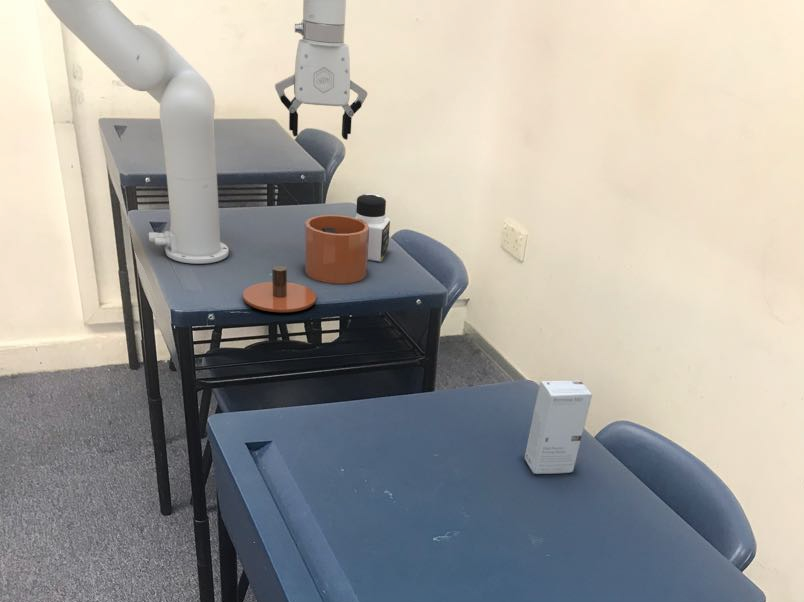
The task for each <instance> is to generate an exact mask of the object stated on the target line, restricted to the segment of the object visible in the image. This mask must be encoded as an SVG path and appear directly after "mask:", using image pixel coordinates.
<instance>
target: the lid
mask: <svg viewBox="0 0 804 602" xmlns="http://www.w3.org/2000/svg"><path fill="white" fill-rule="evenodd" d="M287 273H288V270H287V267H286V266H283V265H274V266H273V267H272V268H271V277H272V278H271V279H272V280H271V281H265V282H260V283H256V284H252V285H250V286H248V287H246V289H244V291H243V292H242V299H243V301H244V303H246V304H247V305H249V306H250V307H251V308H254V309H258V310H260V311H264V312H272V313H295V312H299V311H304V310H306V309H309V308H311V307H312V306H313V305H314V304H316V301H317V295H316V293H315V291H313V290H312V289H311V288H309V287H308V286H305V285H302V284H300V283H294V282H288V278H287V277H288V274H287Z"/></svg>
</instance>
